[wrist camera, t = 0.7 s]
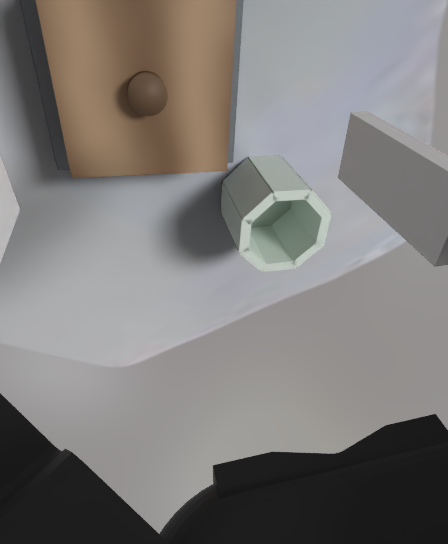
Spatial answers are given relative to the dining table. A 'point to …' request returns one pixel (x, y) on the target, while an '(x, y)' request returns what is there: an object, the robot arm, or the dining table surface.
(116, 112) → the lid
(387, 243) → the dining table surface
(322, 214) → the octagonal pipe section
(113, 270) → the dining table surface
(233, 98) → the mat
